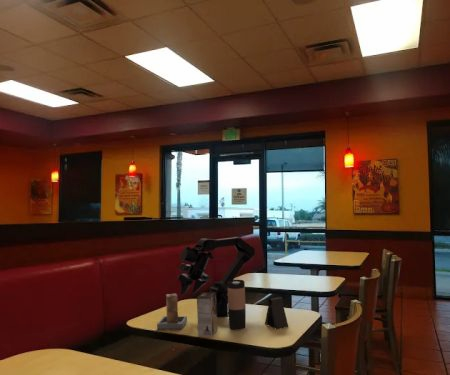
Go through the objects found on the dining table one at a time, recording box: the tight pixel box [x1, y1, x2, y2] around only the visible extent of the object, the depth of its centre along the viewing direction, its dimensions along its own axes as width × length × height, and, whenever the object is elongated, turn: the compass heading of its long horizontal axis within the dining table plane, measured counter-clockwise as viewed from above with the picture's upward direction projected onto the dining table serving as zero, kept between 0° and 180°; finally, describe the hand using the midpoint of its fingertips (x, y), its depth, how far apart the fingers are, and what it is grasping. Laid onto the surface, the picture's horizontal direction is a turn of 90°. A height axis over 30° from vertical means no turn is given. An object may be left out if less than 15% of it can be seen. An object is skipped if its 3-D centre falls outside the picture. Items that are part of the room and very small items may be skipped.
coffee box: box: [196, 291, 218, 338], centre depth 160 cm, size 9×6×16 cm
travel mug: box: [227, 279, 247, 331], centre depth 166 cm, size 8×8×20 cm
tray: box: [156, 315, 188, 331], centre depth 171 cm, size 11×11×2 cm
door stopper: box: [264, 296, 289, 330], centre depth 167 cm, size 9×6×12 cm, turn 29°
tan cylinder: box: [165, 293, 179, 323], centre depth 171 cm, size 4×4×13 cm
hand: (187, 293), depth 181 cm, fingers open, 9 cm apart
